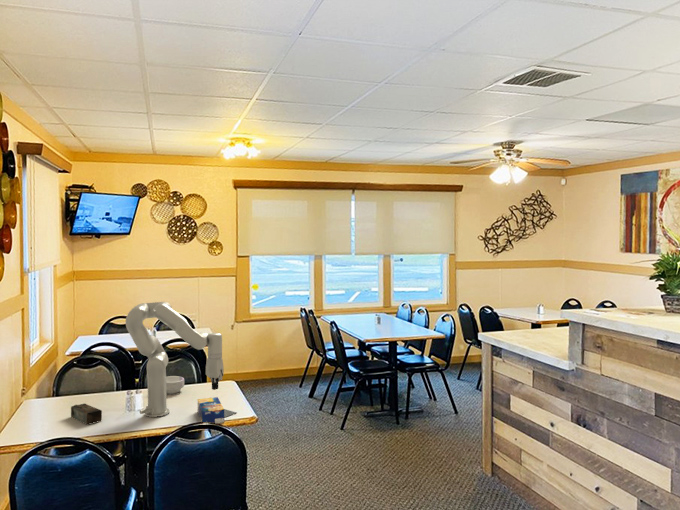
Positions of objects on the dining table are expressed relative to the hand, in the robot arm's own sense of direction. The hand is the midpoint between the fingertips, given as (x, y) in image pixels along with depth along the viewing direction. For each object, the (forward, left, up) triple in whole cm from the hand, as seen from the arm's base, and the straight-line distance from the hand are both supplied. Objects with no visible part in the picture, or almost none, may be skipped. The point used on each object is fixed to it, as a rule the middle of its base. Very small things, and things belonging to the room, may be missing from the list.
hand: (215, 389), depth 294 cm
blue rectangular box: (-2, +4, -9) cm, 10 cm away
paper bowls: (+8, +49, -12) cm, 51 cm away
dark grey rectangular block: (-49, +44, -13) cm, 67 cm away
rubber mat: (-2, -7, -12) cm, 14 cm away
